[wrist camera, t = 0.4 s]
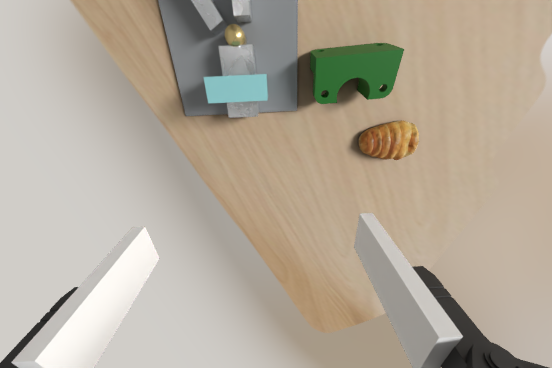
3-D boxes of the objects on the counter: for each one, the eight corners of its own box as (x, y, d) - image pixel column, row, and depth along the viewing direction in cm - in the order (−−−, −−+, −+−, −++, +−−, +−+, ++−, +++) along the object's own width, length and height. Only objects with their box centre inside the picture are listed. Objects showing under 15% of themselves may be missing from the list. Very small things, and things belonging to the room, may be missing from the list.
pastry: (354, 157, 39) (362, 165, 36) (359, 121, 36) (368, 126, 33) (403, 155, 39) (416, 162, 36) (412, 118, 36) (427, 122, 33)
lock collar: (217, 76, 31) (203, 77, 25) (266, 74, 31) (265, 74, 25) (220, 98, 33) (208, 103, 26) (267, 95, 33) (267, 100, 26)
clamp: (315, 84, 37) (302, 104, 31) (317, 45, 33) (303, 58, 27) (389, 86, 33) (391, 109, 27) (401, 42, 29) (407, 57, 23)
